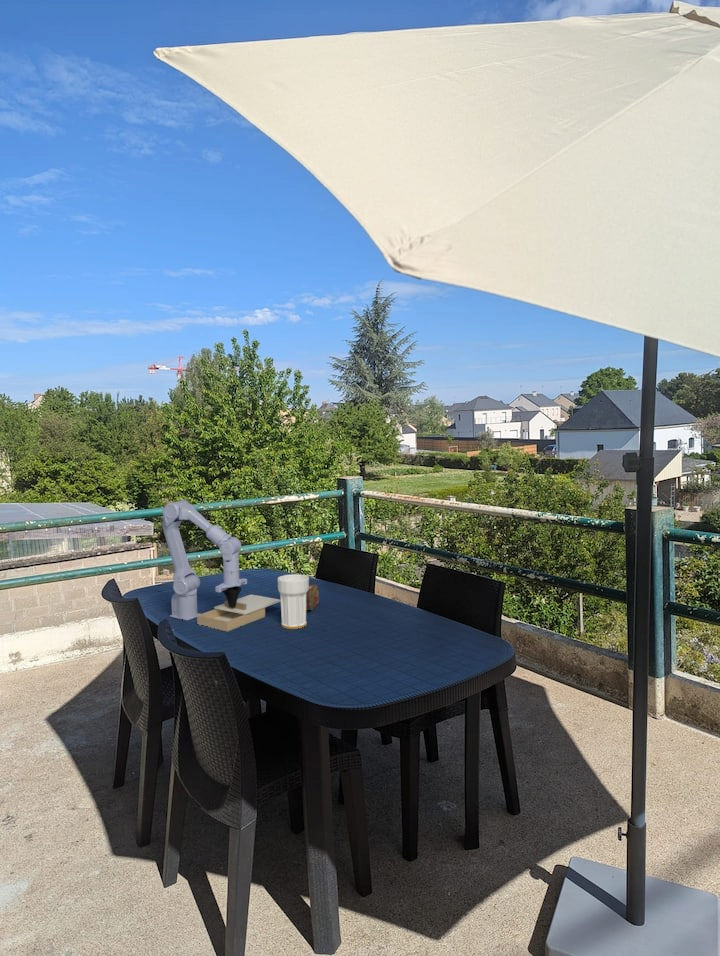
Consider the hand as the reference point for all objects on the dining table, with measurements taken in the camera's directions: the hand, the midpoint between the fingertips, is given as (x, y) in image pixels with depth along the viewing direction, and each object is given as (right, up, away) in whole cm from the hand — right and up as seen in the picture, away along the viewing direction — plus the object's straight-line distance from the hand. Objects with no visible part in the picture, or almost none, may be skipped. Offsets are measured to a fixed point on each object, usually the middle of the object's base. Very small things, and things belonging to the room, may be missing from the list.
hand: (232, 607), depth 243 cm
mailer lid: (+5, -1, +7) cm, 9 cm away
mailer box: (0, -5, 0) cm, 5 cm away
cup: (+23, -6, -6) cm, 25 cm away
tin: (+28, -4, +16) cm, 33 cm away
